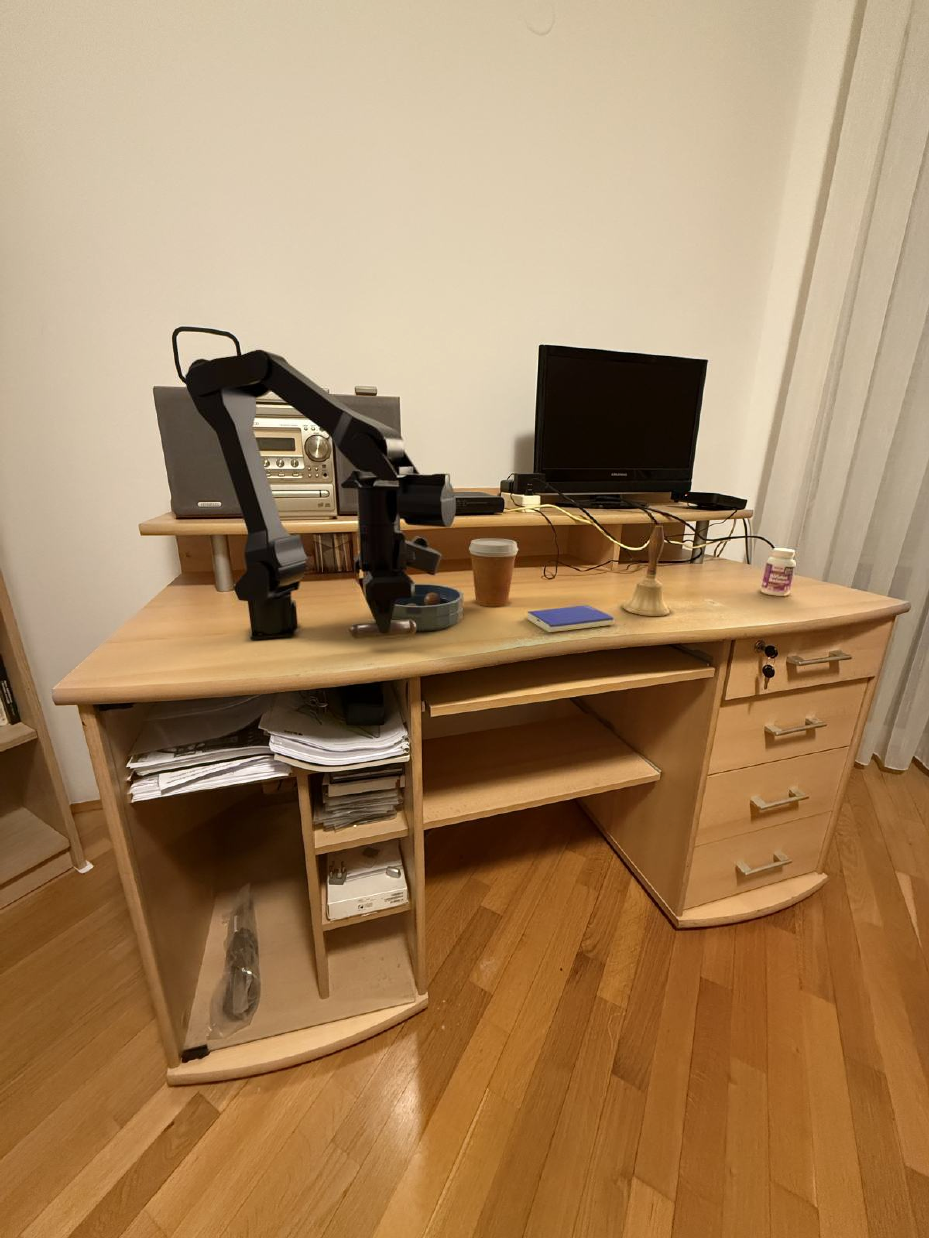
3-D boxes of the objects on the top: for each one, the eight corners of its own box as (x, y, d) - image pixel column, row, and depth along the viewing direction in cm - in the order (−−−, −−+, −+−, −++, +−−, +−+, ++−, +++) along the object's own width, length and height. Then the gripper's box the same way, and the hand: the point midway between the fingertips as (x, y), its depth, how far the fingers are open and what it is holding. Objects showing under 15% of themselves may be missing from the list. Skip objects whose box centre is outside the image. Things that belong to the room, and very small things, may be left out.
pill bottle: (766, 595, 105) (775, 551, 102) (756, 589, 110) (765, 546, 107) (793, 597, 104) (804, 552, 101) (782, 590, 109) (792, 548, 106)
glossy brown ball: (426, 611, 88) (425, 595, 87) (422, 607, 90) (422, 591, 89) (442, 610, 88) (442, 594, 87) (438, 605, 91) (438, 590, 90)
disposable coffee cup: (513, 610, 92) (516, 547, 88) (463, 607, 93) (464, 544, 90) (518, 597, 100) (521, 539, 97) (472, 594, 102) (473, 537, 98)
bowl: (382, 637, 77) (381, 610, 76) (371, 609, 91) (370, 586, 89) (474, 629, 81) (474, 603, 80) (450, 604, 95) (450, 581, 94)
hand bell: (665, 605, 96) (678, 524, 91) (672, 618, 89) (685, 529, 84) (622, 602, 98) (631, 522, 93) (624, 614, 91) (635, 527, 86)
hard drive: (586, 604, 91) (527, 610, 87) (613, 616, 84) (550, 624, 80) (585, 612, 91) (526, 618, 87) (612, 625, 84) (549, 633, 80)
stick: (349, 642, 70) (348, 626, 69) (348, 637, 72) (347, 621, 71) (418, 636, 73) (418, 621, 72) (415, 631, 75) (414, 616, 74)
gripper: (453, 531, 61) (452, 648, 66) (422, 515, 78) (423, 608, 83) (363, 533, 58) (369, 655, 63) (351, 516, 75) (356, 613, 80)
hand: (383, 630), depth 72 cm, fingers closed on stick, 2 cm apart
